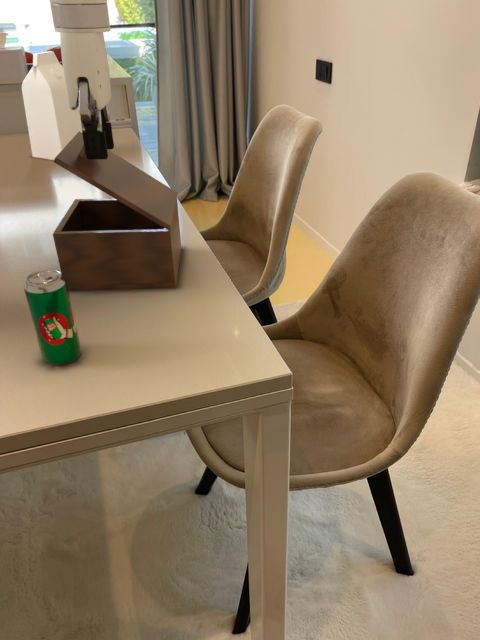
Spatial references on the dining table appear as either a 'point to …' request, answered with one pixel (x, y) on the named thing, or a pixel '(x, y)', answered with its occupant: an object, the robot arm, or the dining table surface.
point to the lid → (120, 181)
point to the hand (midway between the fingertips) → (100, 152)
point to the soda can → (52, 316)
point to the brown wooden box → (116, 247)
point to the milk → (48, 107)
